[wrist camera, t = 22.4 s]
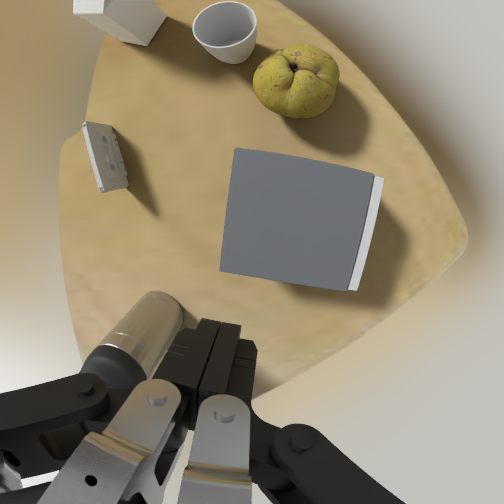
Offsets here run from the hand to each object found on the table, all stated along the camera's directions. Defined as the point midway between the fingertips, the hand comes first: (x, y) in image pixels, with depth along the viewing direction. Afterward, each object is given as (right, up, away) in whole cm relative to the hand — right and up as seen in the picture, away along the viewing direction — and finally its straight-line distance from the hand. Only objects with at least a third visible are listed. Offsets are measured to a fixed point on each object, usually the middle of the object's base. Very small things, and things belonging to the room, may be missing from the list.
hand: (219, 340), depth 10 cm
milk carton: (-18, +43, +23) cm, 52 cm away
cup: (-1, +35, +24) cm, 42 cm away
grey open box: (+7, +10, +31) cm, 33 cm away
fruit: (+8, +28, +26) cm, 38 cm away
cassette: (-22, +20, +31) cm, 43 cm away
